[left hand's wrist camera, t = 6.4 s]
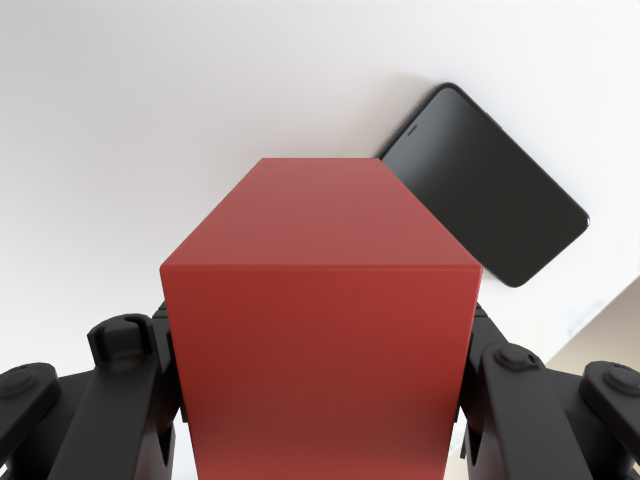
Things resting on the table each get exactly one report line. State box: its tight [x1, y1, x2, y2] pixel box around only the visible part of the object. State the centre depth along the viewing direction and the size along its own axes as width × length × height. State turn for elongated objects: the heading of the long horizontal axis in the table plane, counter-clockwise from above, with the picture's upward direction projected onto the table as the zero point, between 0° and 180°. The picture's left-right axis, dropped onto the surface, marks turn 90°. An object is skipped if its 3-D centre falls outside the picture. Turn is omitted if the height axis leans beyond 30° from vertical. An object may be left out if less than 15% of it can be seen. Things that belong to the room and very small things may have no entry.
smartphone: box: [376, 82, 590, 288], centre depth 26 cm, size 8×1×16 cm
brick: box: [160, 158, 483, 480], centre depth 13 cm, size 8×6×11 cm
